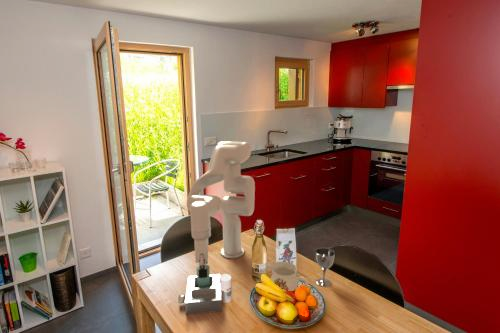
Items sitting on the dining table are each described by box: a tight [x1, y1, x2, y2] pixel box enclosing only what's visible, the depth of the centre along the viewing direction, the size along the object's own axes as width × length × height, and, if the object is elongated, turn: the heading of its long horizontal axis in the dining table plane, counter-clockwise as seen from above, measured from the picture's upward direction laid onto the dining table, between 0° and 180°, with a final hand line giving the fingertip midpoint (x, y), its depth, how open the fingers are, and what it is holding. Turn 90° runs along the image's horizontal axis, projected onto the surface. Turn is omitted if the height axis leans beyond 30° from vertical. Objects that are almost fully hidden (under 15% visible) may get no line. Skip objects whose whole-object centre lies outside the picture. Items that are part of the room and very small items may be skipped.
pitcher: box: [265, 261, 309, 291], centre depth 128 cm, size 11×18×14 cm, turn 67°
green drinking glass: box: [196, 263, 211, 288], centre depth 127 cm, size 5×5×10 cm
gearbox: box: [178, 273, 223, 315], centre depth 129 cm, size 18×17×8 cm
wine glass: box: [315, 247, 336, 288], centre depth 138 cm, size 8×8×15 cm
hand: (203, 270), depth 127 cm, fingers open, 9 cm apart
